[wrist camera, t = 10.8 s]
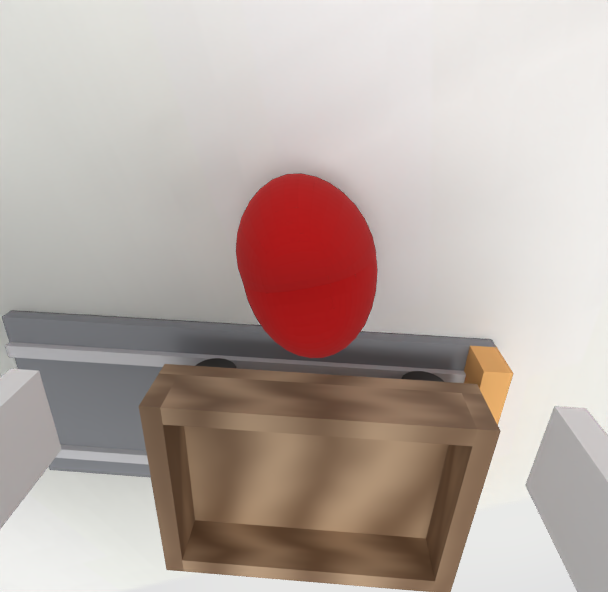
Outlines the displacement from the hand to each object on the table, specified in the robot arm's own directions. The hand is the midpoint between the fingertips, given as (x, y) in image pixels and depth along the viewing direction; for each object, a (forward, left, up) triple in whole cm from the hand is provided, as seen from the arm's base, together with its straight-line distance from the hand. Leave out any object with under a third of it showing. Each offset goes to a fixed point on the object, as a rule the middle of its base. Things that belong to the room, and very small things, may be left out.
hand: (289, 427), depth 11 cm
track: (-5, -15, -18) cm, 24 cm away
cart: (+1, -15, -16) cm, 22 cm away
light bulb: (0, 0, -18) cm, 18 cm away
